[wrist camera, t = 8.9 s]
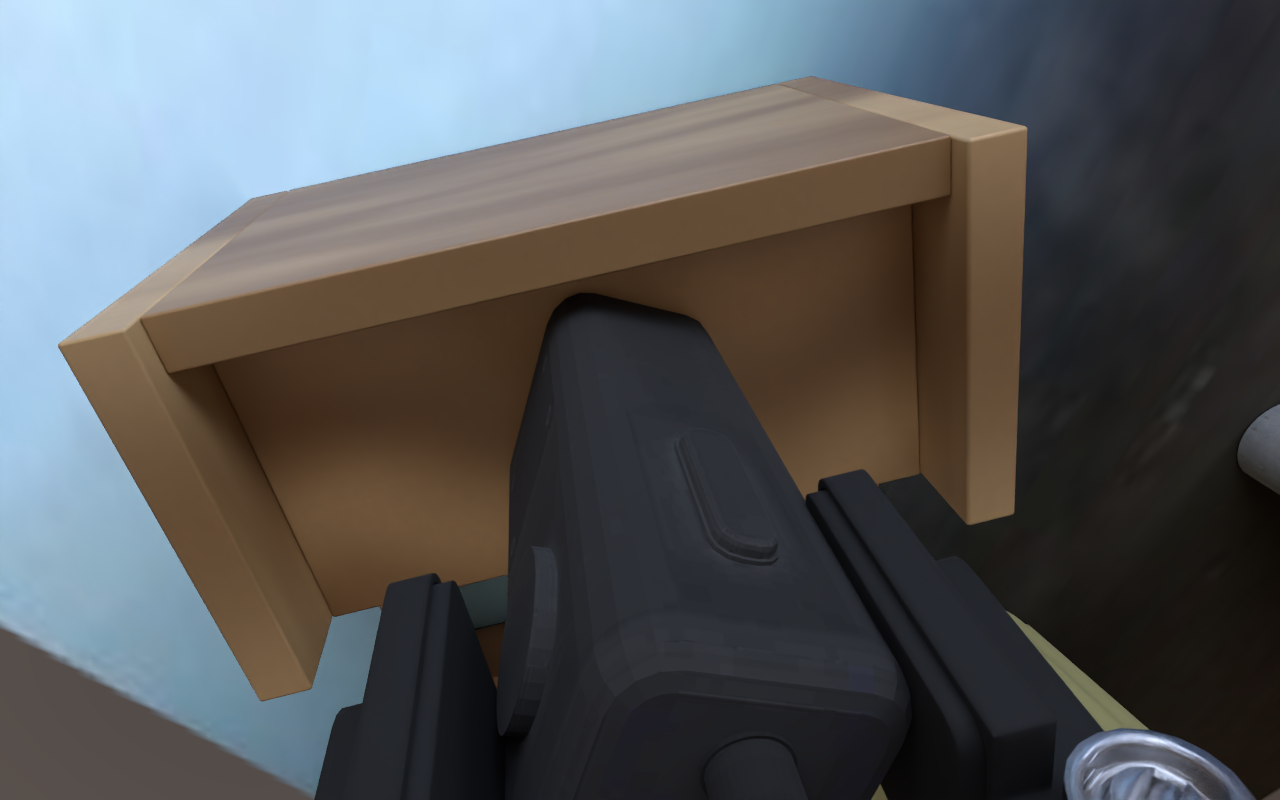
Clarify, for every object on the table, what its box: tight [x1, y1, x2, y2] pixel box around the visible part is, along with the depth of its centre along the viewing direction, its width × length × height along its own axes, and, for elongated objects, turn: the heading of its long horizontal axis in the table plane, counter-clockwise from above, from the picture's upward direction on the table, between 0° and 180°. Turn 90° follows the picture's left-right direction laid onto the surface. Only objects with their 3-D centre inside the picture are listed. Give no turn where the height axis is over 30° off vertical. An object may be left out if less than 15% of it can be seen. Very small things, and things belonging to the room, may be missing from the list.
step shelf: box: [58, 76, 1028, 701], centre depth 20 cm, size 16×15×10 cm
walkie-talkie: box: [496, 293, 912, 800], centre depth 9 cm, size 5×3×15 cm
